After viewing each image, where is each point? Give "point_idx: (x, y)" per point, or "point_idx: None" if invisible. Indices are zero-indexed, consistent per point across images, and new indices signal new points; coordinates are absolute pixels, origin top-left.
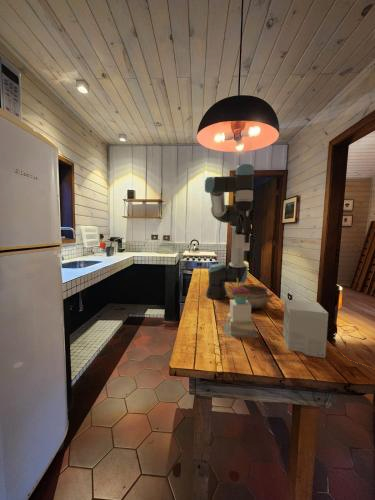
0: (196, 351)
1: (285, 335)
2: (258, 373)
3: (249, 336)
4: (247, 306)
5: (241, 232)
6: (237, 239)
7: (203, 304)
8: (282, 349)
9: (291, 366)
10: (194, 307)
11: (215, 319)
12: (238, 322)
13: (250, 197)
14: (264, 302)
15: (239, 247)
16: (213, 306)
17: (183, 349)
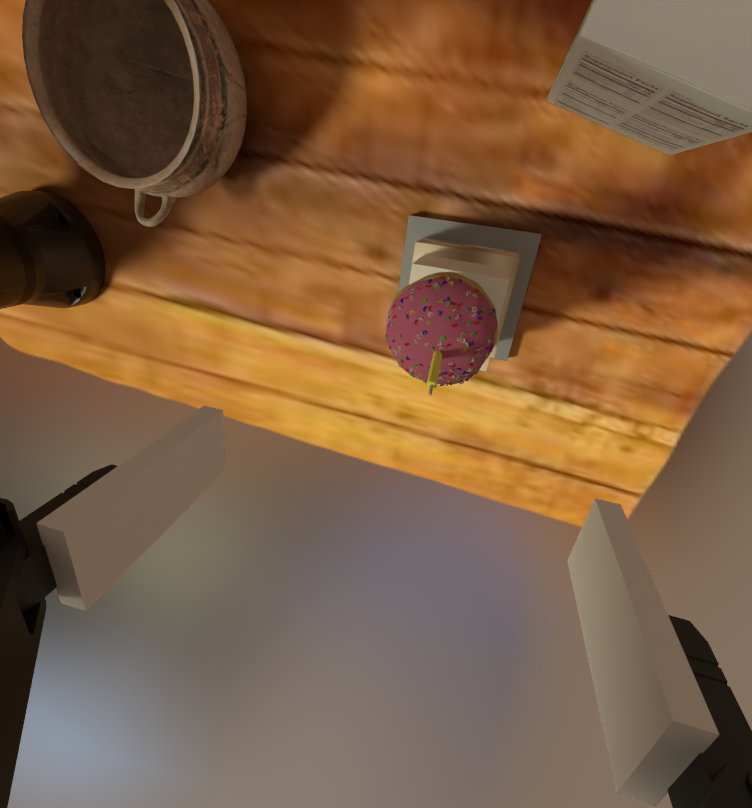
0: (557, 468)
1: (628, 126)
2: (741, 339)
3: (525, 273)
4: (503, 299)
5: (14, 574)
6: (148, 534)
7: (181, 346)
8: (641, 166)
9: None
10: (219, 390)
11: (337, 344)
12: (501, 326)
13: None
14: (229, 35)
15: (219, 441)
16: (199, 309)
17: (536, 497)
